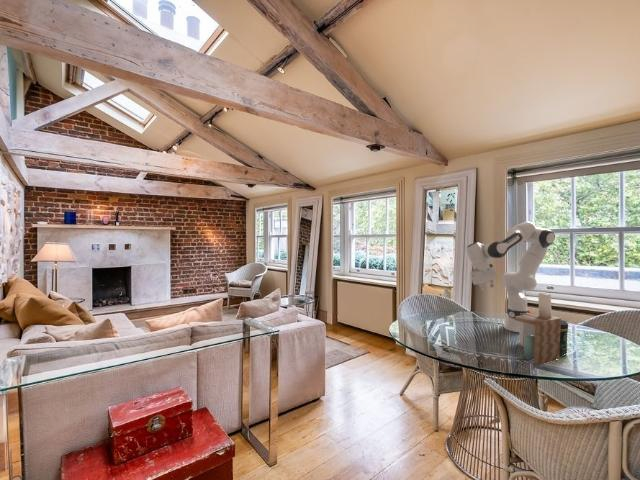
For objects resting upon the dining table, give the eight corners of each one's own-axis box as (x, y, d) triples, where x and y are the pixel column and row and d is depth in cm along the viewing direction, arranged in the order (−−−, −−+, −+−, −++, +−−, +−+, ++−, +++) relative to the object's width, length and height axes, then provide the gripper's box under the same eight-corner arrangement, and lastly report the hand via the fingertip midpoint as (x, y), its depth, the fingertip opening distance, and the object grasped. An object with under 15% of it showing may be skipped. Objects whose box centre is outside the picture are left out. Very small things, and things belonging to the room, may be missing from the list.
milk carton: (532, 344, 188) (534, 313, 188) (536, 348, 182) (538, 316, 181) (519, 343, 191) (520, 311, 190) (522, 347, 184) (523, 314, 183)
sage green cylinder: (527, 354, 172) (528, 333, 172) (538, 358, 167) (539, 336, 167) (521, 356, 170) (522, 334, 170) (531, 360, 165) (533, 337, 165)
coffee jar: (561, 357, 169) (562, 323, 168) (544, 352, 176) (546, 319, 175) (569, 354, 174) (571, 321, 174) (552, 349, 181) (554, 317, 180)
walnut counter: (535, 351, 178) (536, 312, 177) (559, 359, 167) (560, 318, 166) (513, 357, 169) (514, 316, 168) (536, 366, 158) (538, 322, 157)
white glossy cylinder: (539, 314, 172) (538, 292, 172) (551, 315, 169) (550, 293, 169) (538, 317, 168) (538, 294, 167) (551, 318, 165) (550, 295, 164)
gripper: (474, 269, 194) (482, 291, 191) (494, 263, 204) (502, 284, 201) (466, 271, 199) (473, 293, 197) (485, 265, 209) (493, 286, 207)
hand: (488, 288), depth 199 cm, fingers open, 8 cm apart
